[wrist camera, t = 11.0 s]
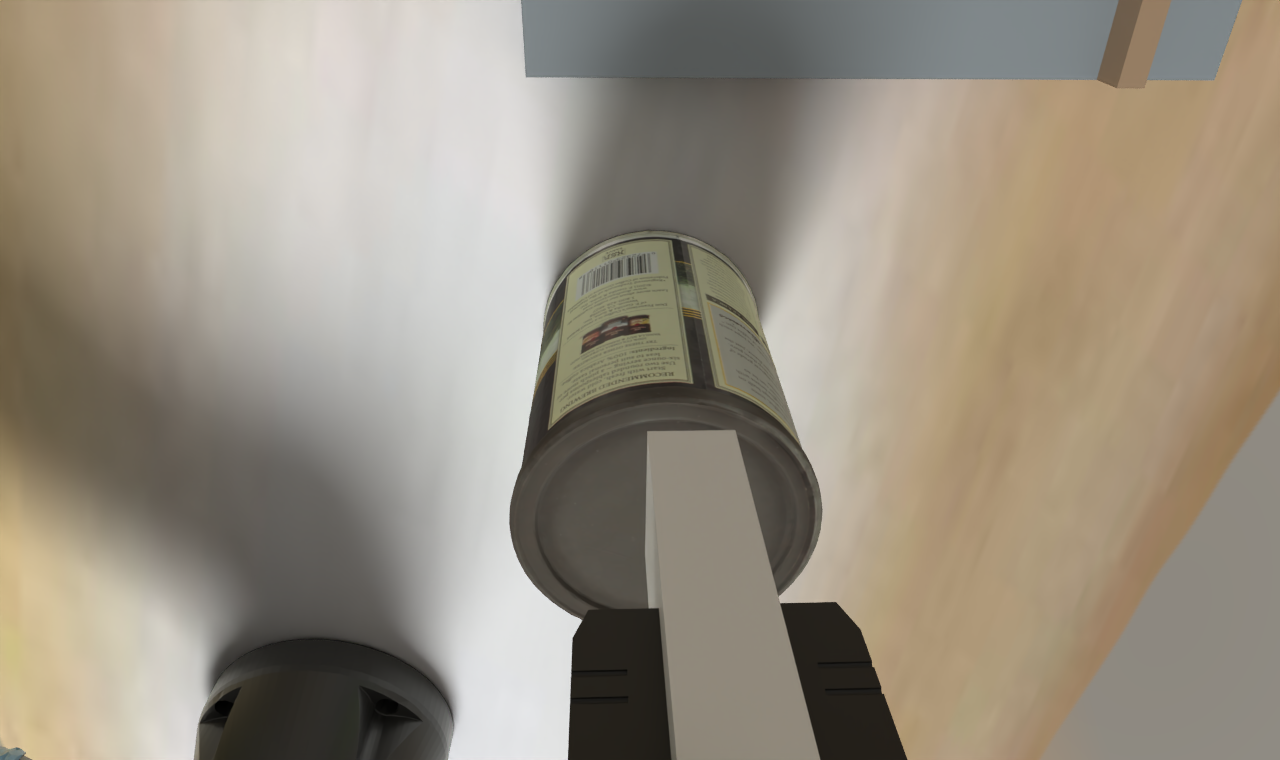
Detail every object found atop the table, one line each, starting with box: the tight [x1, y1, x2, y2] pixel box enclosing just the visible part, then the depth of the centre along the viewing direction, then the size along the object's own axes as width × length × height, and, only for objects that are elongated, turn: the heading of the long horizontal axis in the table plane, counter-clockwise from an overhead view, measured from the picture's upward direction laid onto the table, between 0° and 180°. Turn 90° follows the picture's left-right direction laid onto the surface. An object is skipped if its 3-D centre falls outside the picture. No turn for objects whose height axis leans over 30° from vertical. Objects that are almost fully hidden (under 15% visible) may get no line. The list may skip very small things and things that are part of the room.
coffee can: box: [510, 230, 822, 620], centre depth 33 cm, size 10×10×14 cm
